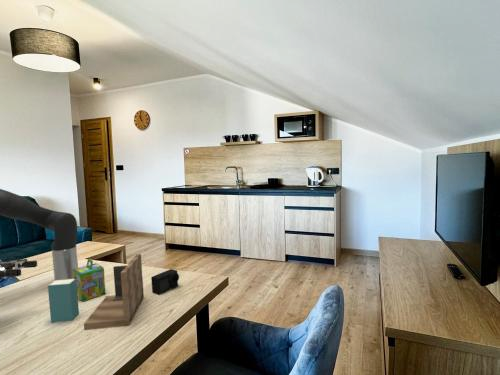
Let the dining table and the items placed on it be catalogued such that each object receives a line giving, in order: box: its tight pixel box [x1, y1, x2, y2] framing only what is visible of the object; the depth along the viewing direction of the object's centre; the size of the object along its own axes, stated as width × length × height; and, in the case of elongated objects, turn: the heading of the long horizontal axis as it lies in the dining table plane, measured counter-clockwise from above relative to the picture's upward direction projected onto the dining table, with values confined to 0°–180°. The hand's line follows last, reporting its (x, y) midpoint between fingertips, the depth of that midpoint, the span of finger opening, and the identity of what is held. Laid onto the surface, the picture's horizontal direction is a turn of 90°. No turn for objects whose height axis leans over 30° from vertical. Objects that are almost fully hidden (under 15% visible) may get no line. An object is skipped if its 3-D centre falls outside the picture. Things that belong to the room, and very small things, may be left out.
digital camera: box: [150, 268, 180, 296], centre depth 121 cm, size 10×5×7 cm, turn 147°
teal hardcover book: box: [47, 279, 80, 323], centre depth 100 cm, size 4×7×13 cm, turn 97°
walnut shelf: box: [83, 253, 145, 330], centre depth 103 cm, size 20×14×18 cm
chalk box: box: [73, 258, 106, 303], centre depth 118 cm, size 9×9×15 cm
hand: (28, 267), depth 98 cm, fingers open, 8 cm apart
